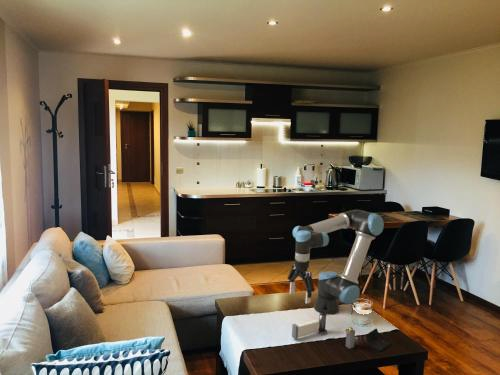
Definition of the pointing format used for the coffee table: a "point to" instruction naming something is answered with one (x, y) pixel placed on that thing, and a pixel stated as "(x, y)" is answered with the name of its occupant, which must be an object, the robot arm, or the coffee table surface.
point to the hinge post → (322, 324)
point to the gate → (305, 329)
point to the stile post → (350, 337)
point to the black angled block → (376, 340)
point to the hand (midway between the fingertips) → (299, 298)
